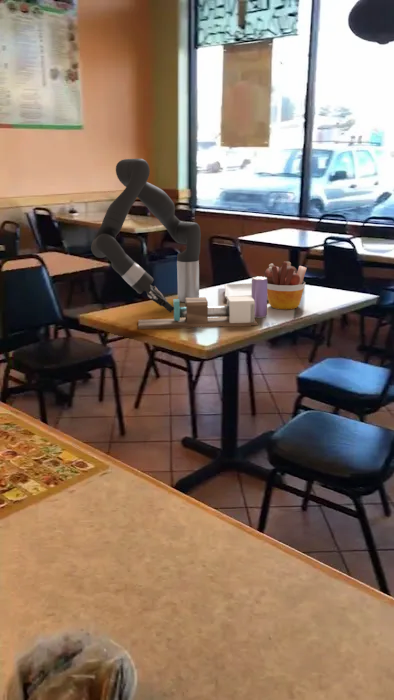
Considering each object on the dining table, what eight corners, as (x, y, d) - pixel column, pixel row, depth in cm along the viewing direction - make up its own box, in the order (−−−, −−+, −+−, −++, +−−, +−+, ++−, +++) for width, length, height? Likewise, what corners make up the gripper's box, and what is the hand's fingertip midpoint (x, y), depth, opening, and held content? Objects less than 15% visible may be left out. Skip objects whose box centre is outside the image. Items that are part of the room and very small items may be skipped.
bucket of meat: (266, 301, 271) (267, 254, 265) (305, 302, 267) (307, 255, 262) (261, 311, 252) (262, 261, 246) (303, 313, 249) (305, 262, 243)
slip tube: (174, 320, 231) (173, 301, 229) (173, 317, 235) (173, 299, 233) (242, 318, 232) (242, 300, 230) (240, 315, 237) (240, 297, 235)
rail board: (138, 322, 237) (137, 298, 235) (252, 319, 240) (253, 295, 238) (138, 328, 228) (137, 304, 225) (257, 325, 231) (257, 301, 228)
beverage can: (265, 318, 241) (266, 279, 237) (250, 317, 242) (250, 278, 238) (267, 315, 247) (268, 276, 242) (252, 314, 248) (252, 276, 244)
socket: (226, 317, 239) (226, 296, 237) (250, 317, 239) (250, 296, 237) (229, 323, 231) (229, 301, 228) (254, 322, 231) (254, 300, 229)
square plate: (224, 291, 295) (224, 283, 294) (283, 291, 294) (283, 283, 293) (224, 303, 269) (224, 294, 268) (289, 303, 268) (289, 294, 267)
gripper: (144, 273, 221) (180, 307, 225) (144, 267, 234) (178, 299, 238) (129, 288, 222) (165, 322, 226) (130, 282, 235) (164, 313, 239)
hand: (172, 310), depth 232 cm, fingers closed
